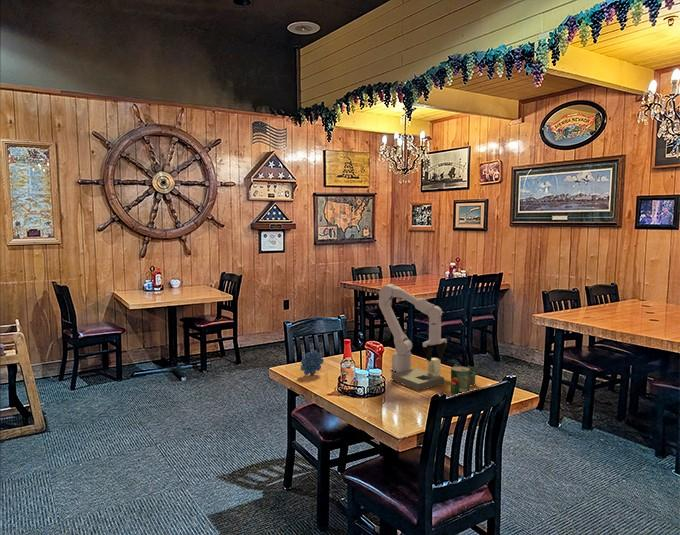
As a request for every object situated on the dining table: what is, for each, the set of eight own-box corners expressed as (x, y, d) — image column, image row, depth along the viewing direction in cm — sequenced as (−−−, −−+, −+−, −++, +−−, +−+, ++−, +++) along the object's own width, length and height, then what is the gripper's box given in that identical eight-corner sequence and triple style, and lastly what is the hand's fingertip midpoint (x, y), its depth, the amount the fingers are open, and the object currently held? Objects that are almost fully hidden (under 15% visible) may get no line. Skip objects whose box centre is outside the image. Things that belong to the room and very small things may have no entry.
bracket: (479, 384, 227) (480, 365, 227) (464, 387, 223) (465, 368, 222) (465, 379, 235) (465, 360, 235) (450, 382, 231) (451, 363, 230)
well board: (391, 379, 234) (391, 373, 233) (416, 374, 243) (416, 368, 243) (418, 390, 219) (418, 383, 219) (443, 383, 228) (444, 377, 228)
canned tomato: (446, 392, 216) (447, 367, 215) (458, 389, 221) (458, 364, 220) (461, 397, 210) (461, 372, 209) (473, 394, 214) (473, 368, 214)
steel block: (428, 374, 242) (428, 358, 241) (434, 373, 244) (434, 357, 243) (434, 377, 239) (434, 360, 238) (440, 375, 241) (440, 359, 240)
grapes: (320, 371, 248) (320, 347, 247) (325, 375, 241) (325, 350, 240) (298, 373, 244) (298, 349, 243) (301, 377, 237) (301, 352, 236)
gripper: (430, 335, 232) (429, 363, 233) (451, 331, 240) (451, 358, 242) (419, 332, 238) (419, 360, 239) (440, 328, 246) (440, 355, 247)
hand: (434, 359), depth 241 cm, fingers open, 7 cm apart
